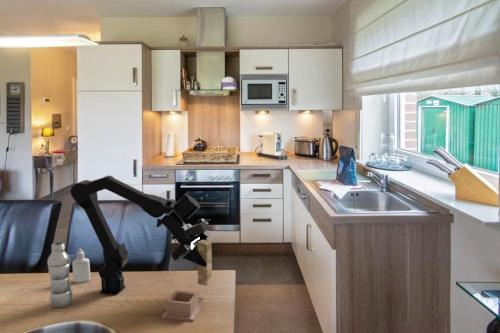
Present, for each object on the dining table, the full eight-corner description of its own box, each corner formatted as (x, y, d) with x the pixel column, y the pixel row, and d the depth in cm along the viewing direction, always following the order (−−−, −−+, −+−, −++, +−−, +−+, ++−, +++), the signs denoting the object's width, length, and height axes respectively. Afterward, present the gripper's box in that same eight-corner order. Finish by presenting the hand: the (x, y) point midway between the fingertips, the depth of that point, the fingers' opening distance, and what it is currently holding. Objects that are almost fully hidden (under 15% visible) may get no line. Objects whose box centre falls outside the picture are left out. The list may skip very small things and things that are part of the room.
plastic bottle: (77, 302, 131) (74, 241, 128) (61, 311, 125) (57, 248, 122) (61, 298, 133) (58, 239, 130) (45, 308, 127) (41, 246, 124)
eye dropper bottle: (84, 284, 145) (83, 251, 143) (71, 282, 146) (69, 250, 144) (92, 279, 149) (90, 247, 147) (79, 277, 150) (77, 246, 149)
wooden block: (197, 284, 134) (197, 243, 132) (202, 280, 138) (201, 239, 136) (207, 285, 133) (207, 244, 131) (211, 281, 136) (211, 240, 135)
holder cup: (161, 317, 121) (160, 303, 120) (174, 302, 131) (173, 288, 130) (193, 321, 119) (193, 306, 118) (204, 305, 129) (203, 291, 128)
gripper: (179, 220, 125) (212, 259, 123) (205, 206, 142) (234, 240, 140) (157, 242, 128) (189, 280, 126) (185, 226, 146) (213, 260, 144)
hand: (208, 264), depth 134 cm, fingers closed on wooden block, 3 cm apart
